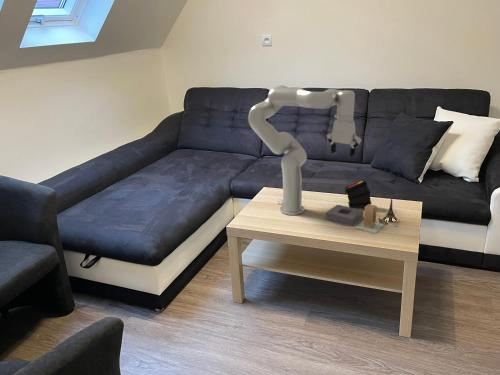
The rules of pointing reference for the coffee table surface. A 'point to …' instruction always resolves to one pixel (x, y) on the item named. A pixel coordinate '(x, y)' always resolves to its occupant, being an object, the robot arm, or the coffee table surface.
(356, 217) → the grey flat block
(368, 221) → the plug
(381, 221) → the eiffel tower figurine
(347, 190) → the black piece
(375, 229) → the mat
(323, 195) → the coffee table surface
